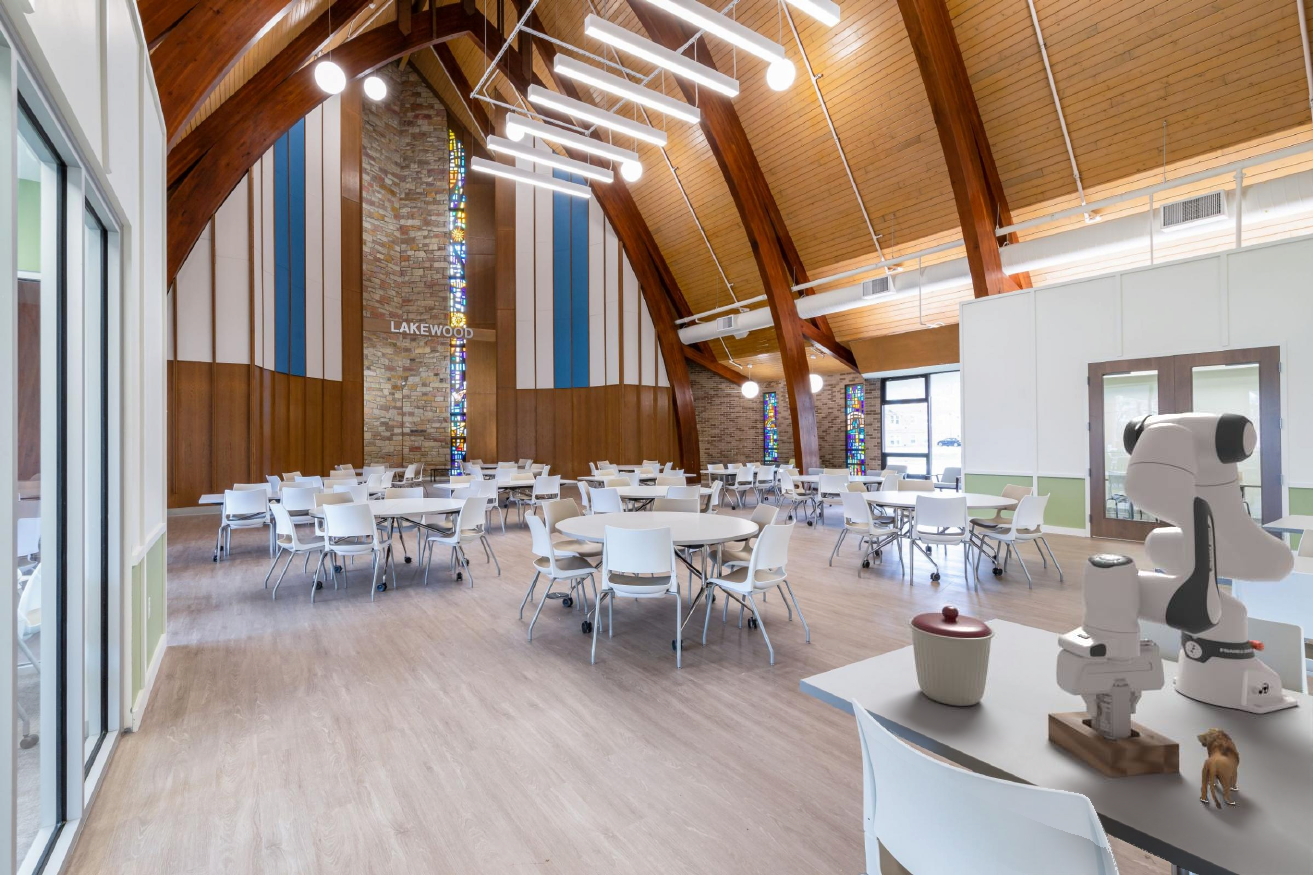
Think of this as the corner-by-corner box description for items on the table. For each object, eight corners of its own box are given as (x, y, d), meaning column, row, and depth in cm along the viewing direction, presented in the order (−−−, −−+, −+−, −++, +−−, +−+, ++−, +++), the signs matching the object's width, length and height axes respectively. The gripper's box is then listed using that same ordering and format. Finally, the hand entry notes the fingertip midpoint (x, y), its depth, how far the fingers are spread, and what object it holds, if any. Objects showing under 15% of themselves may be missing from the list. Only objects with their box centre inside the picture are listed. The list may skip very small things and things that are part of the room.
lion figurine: (1197, 769, 109) (1196, 720, 109) (1238, 780, 105) (1237, 729, 105) (1199, 806, 97) (1199, 751, 98) (1245, 820, 94) (1244, 762, 94)
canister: (978, 684, 147) (978, 598, 147) (1007, 717, 129) (1007, 619, 129) (900, 679, 150) (900, 594, 150) (918, 710, 132) (918, 615, 133)
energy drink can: (1138, 763, 111) (1138, 681, 111) (1102, 760, 112) (1102, 679, 112) (1118, 747, 117) (1118, 669, 117) (1084, 744, 118) (1084, 667, 118)
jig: (1110, 734, 122) (1110, 709, 122) (1179, 771, 108) (1179, 743, 108) (1048, 738, 120) (1048, 713, 120) (1110, 777, 106) (1110, 748, 106)
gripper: (1142, 633, 119) (1143, 703, 118) (1050, 638, 116) (1050, 709, 116) (1174, 643, 112) (1175, 717, 112) (1077, 649, 109) (1077, 725, 109)
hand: (1111, 713), depth 114 cm, fingers open, 6 cm apart
